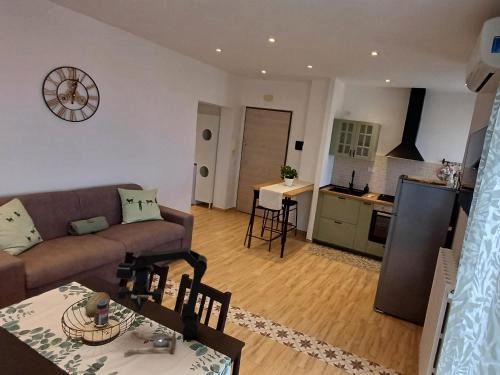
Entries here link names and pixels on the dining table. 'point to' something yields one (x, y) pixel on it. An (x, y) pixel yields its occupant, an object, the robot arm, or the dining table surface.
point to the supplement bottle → (101, 313)
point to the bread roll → (94, 300)
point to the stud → (160, 340)
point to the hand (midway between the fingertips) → (139, 310)
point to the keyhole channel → (150, 350)
